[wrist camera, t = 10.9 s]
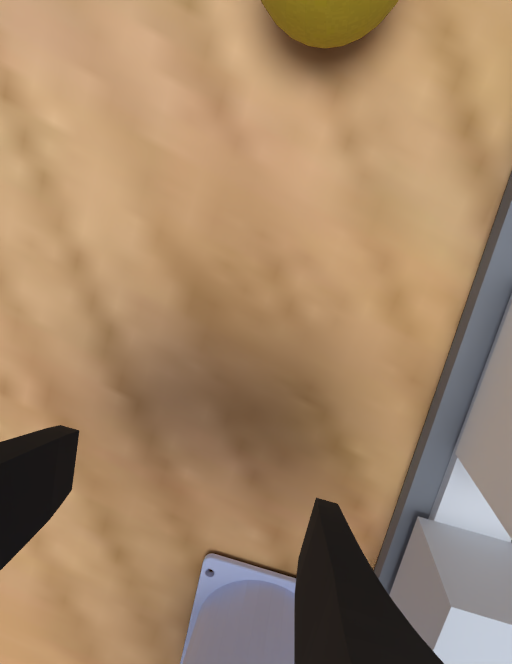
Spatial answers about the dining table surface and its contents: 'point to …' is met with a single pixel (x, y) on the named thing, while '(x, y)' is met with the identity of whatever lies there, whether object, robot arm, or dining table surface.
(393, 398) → the dining table surface
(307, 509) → the dining table surface
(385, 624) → the robot arm
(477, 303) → the board
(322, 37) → the lemon
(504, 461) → the block
